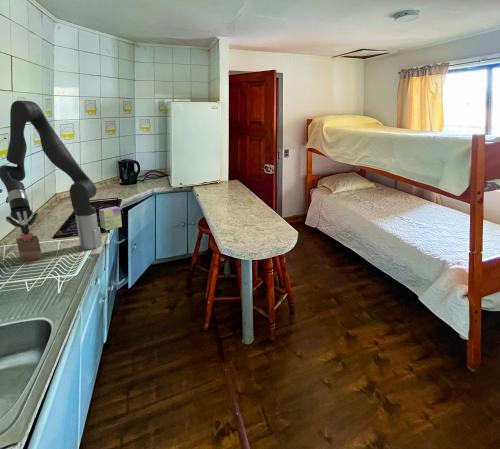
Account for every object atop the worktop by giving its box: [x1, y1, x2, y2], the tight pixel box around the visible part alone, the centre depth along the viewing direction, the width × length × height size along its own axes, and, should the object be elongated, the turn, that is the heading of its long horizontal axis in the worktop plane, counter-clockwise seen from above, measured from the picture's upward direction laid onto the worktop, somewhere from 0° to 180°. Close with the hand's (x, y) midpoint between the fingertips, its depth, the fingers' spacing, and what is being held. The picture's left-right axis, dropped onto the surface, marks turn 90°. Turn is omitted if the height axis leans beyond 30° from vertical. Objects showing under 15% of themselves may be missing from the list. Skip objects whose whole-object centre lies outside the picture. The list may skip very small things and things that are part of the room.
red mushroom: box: [19, 232, 35, 241], centre depth 154 cm, size 5×5×10 cm
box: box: [98, 206, 123, 231], centre depth 197 cm, size 10×6×12 cm, turn 141°
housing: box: [16, 235, 43, 263], centre depth 154 cm, size 8×8×9 cm
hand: (26, 233), depth 152 cm, fingers closed
